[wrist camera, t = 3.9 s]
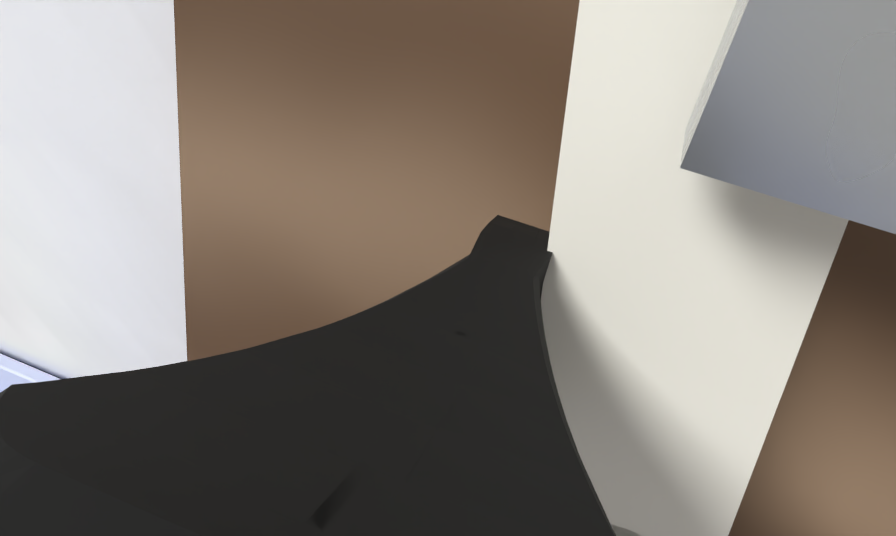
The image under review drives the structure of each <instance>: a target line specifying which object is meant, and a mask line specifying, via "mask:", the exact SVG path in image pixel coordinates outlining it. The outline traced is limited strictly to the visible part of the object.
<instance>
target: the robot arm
mask: <svg viewBox="0 0 896 536" xmlns="http://www.w3.org/2000/svg"><path fill="white" fill-rule="evenodd" d="M549 233H550V232H549V231H546V230H543V229H540V228H537V227H534V226H531V225H528V224H525V223H521V222H518V221H515V220H512V219H509V218H506V217H503V216H500V215H497V216H496V217H495V218H494V219H493V220H491V221H490V222H489V223H488V224H487V225H486V226H485V228H484V229H483V230H482V231H481V233H480V235H479V237H478V239H477V241H476V243H475V245H474V247H473V249H472V251H471V253H470V254H469V255H468V256H466V257H464V258H463V259H461V260H459V261H458V262H456V263H454V264H453V265H451V266H450V267H448V268H446V269H445V270H443V271H441V272H440V273H438V274H436V275H434V276H433V277H431V278H429V279H427V280H425V281H424V282H422V283H420V284H418V285H416V286H414V287H412V288H410V289H408V290H406V291H404V292H402V293H400V294H398V295H396V296H394V297H392V298H390V299H388V300H386V301H384V302H382V303H380V304H378V305H375V306H373V307H371V308H369V309H366V310H364V311H362V312H359V313H357V314H355V315H352V316H349V317H347V318H344V319H342V320H339V321H336V322H334V323H331V324H328V325H325V326H322V327H319V328H316V329H313V330H309V331H306V332H303V333H299V334H296V335H292V336H289V337H285V338H282V339H278V340H275V341H271V342H268V343H265V344H261V345H258V346H254V347H251V348H246V349H242V350H238V351H234V352H229V353H225V354H220V355H215V356H211V357H206V358H202V359H196V360H191V361H186V362H180V363H175V364H169V365H164V366H159V367H152V368H146V369H140V370H133V371H126V372H118V373H110V374H102V375H93V376H85V377H77V378H69V379H59V378H57V377H54V376H52V375H50V374H47V373H45V372H43V371H40V370H38V369H36V368H33V367H31V366H29V365H26V364H24V363H22V362H19V361H17V360H15V359H12V358H10V357H7V356H5V355H3V354H0V536H616V534H615V532H614V530H613V528H612V526H611V524H610V522H609V520H608V518H607V515H606V513H605V511H604V509H603V506H602V504H601V502H600V500H599V498H598V495H597V493H596V491H595V489H594V487H593V484H592V482H591V480H590V478H589V476H588V473H587V471H586V469H585V467H584V464H583V462H582V460H581V458H580V455H579V453H578V450H577V447H576V444H575V442H574V439H573V436H572V433H571V431H570V428H569V425H568V422H567V420H566V416H565V413H564V410H563V407H562V404H561V400H560V397H559V394H558V390H557V387H556V383H555V379H554V375H553V371H552V367H551V363H550V358H549V353H548V348H547V343H546V338H545V332H544V325H543V318H542V308H541V295H542V287H543V281H544V278H545V275H546V272H547V269H548V266H549V262H550V259H551V256H552V253H553V252H550V251H547V249H548V241H549Z"/></svg>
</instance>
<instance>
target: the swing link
mask: <svg viewBox="0 0 896 536" xmlns="http://www.w3.org/2000/svg"><path fill="white" fill-rule="evenodd" d="M736 2H737V0H580V1H579V9H578V17H577V25H576V32H575V40H574V48H573V56H572V63H571V71H570V79H569V86H568V94H567V102H566V110H565V117H564V125H563V133H562V141H561V148H560V156H559V164H558V171H557V179H556V187H555V195H554V202H553V210H552V218H551V225H550V233H549V241H548V249H547V251H550V252H553V253H552V256H551V259H550V262H549V266H548V269H547V272H546V275H545V278H544V281H543V287H542V295H541V308H542V318H543V325H544V332H545V338H546V343H547V348H548V353H549V358H550V363H551V367H552V371H553V375H554V379H555V383H556V387H557V390H558V394H559V397H560V400H561V404H562V407H563V410H564V413H565V416H566V420H567V422H568V425H569V428H570V431H571V433H572V436H573V439H574V442H575V444H576V447H577V450H578V453H579V455H580V458H581V460H582V462H583V464H584V467H585V469H586V471H587V473H588V476H589V478H590V480H591V482H592V484H593V487H594V489H595V491H596V493H597V495H598V498H599V500H600V502H601V504H602V506H603V509H604V511H605V513H606V515H607V518H608V520H609V522H610V524H611V526H612V528H613V530H614V532H615V534H616V536H728V535H729V532H730V530H731V527H732V524H733V522H734V519H735V516H736V514H737V511H738V509H739V506H740V503H741V501H742V498H743V496H744V493H745V490H746V488H747V485H748V482H749V480H750V477H751V475H752V472H753V469H754V467H755V464H756V461H757V459H758V456H759V454H760V451H761V448H762V446H763V443H764V441H765V438H766V435H767V433H768V430H769V427H770V425H771V422H772V420H773V417H774V414H775V412H776V409H777V407H778V404H779V401H780V399H781V396H782V393H783V391H784V388H785V386H786V383H787V380H788V378H789V375H790V373H791V370H792V367H793V365H794V362H795V359H796V357H797V354H798V352H799V349H800V346H801V344H802V341H803V338H804V336H805V333H806V331H807V328H808V325H809V323H810V320H811V318H812V315H813V312H814V310H815V307H816V304H817V302H818V299H819V297H820V294H821V291H822V289H823V286H824V284H825V281H826V278H827V276H828V273H829V270H830V268H831V265H832V263H833V260H834V257H835V255H836V252H837V250H838V247H839V244H840V242H841V239H842V236H843V234H844V231H845V229H846V226H847V223H848V221H849V220H848V219H844V218H841V217H838V216H835V215H831V214H828V213H825V212H821V211H818V210H815V209H812V208H808V207H805V206H802V205H799V204H795V203H792V202H789V201H786V200H782V199H779V198H776V197H773V196H769V195H766V194H763V193H760V192H756V191H753V190H750V189H747V188H743V187H740V186H737V185H733V184H730V183H727V182H724V181H720V180H717V179H714V178H711V177H707V176H704V175H701V174H698V173H694V172H691V171H688V170H685V169H681V168H680V164H681V157H682V150H683V144H684V137H685V130H686V126H687V124H688V121H689V119H690V116H691V114H692V111H693V109H694V106H695V104H696V101H697V99H698V96H699V94H700V91H701V89H702V86H703V84H704V81H705V79H706V76H707V74H708V71H709V69H710V66H711V64H712V61H713V59H714V57H715V54H716V52H717V49H718V47H719V44H720V42H721V39H722V37H723V34H724V32H725V29H726V27H727V24H728V22H729V19H730V17H731V14H732V12H733V9H734V7H735V4H736Z"/></svg>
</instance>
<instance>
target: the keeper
mask: <svg viewBox="0 0 896 536" xmlns="http://www.w3.org/2000/svg"><path fill="white" fill-rule="evenodd" d="M680 168H681V169H685V170H688V171H691V172H694V173H698V174H701V175H704V176H707V177H711V178H714V179H717V180H720V181H724V182H727V183H730V184H733V185H737V186H740V187H743V188H747V189H750V190H753V191H756V192H760V193H763V194H766V195H769V196H773V197H776V198H779V199H782V200H786V201H789V202H792V203H795V204H799V205H802V206H805V207H808V208H812V209H815V210H818V211H821V212H825V213H828V214H831V215H835V216H838V217H841V218H844V219H848V220H851V221H854V222H857V223H861V224H864V225H867V226H870V227H874V228H877V229H880V230H883V231H887V232H890V233H893V234H896V0H737V2H736V4H735V7H734V9H733V12H732V14H731V17H730V19H729V22H728V24H727V27H726V29H725V32H724V34H723V37H722V39H721V42H720V44H719V47H718V49H717V52H716V54H715V57H714V59H713V61H712V64H711V66H710V69H709V71H708V74H707V76H706V79H705V81H704V84H703V86H702V89H701V91H700V94H699V96H698V99H697V101H696V104H695V106H694V109H693V111H692V114H691V116H690V119H689V121H688V124H687V126H686V130H685V137H684V144H683V150H682V157H681V164H680Z"/></svg>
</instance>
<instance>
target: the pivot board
mask: <svg viewBox="0 0 896 536" xmlns="http://www.w3.org/2000/svg"><path fill="white" fill-rule="evenodd" d="M579 1H580V0H174V18H175V45H176V71H177V98H178V124H179V151H180V177H181V204H182V230H183V257H184V283H185V310H186V336H187V361H191V360H196V359H202V358H206V357H211V356H215V355H220V354H225V353H229V352H234V351H238V350H242V349H246V348H251V347H254V346H258V345H261V344H265V343H268V342H271V341H275V340H278V339H282V338H285V337H289V336H292V335H296V334H299V333H303V332H306V331H309V330H313V329H316V328H319V327H322V326H325V325H328V324H331V323H334V322H336V321H339V320H342V319H344V318H347V317H349V316H352V315H355V314H357V313H359V312H362V311H364V310H366V309H369V308H371V307H373V306H375V305H378V304H380V303H382V302H384V301H386V300H388V299H390V298H392V297H394V296H396V295H398V294H400V293H402V292H404V291H406V290H408V289H410V288H412V287H414V286H416V285H418V284H420V283H422V282H424V281H425V280H427V279H429V278H431V277H433V276H434V275H436V274H438V273H440V272H441V271H443V270H445V269H446V268H448V267H450V266H451V265H453V264H454V263H456V262H458V261H459V260H461V259H463V258H464V257H466V256H468V255H469V254H470V253H471V251H472V249H473V247H474V245H475V243H476V241H477V239H478V237H479V235H480V233H481V231H482V230H483V229H484V228H485V226H486V225H487V224H488V223H489V222H490V221H491V220H493V219H494V218H495V217H496V216H497V215H500V216H503V217H506V218H509V219H512V220H515V221H518V222H521V223H525V224H528V225H531V226H534V227H537V228H540V229H543V230H546V231H549V232H550V225H551V218H552V210H553V202H554V195H555V187H556V179H557V171H558V164H559V156H560V148H561V141H562V133H563V125H564V117H565V110H566V102H567V94H568V86H569V79H570V71H571V63H572V56H573V48H574V40H575V32H576V25H577V17H578V9H579ZM728 536H896V234H893V233H890V232H887V231H883V230H880V229H877V228H874V227H870V226H867V225H864V224H861V223H857V222H854V221H851V220H849V221H848V223H847V226H846V229H845V231H844V234H843V236H842V239H841V242H840V244H839V247H838V250H837V252H836V255H835V257H834V260H833V263H832V265H831V268H830V270H829V273H828V276H827V278H826V281H825V284H824V286H823V289H822V291H821V294H820V297H819V299H818V302H817V304H816V307H815V310H814V312H813V315H812V318H811V320H810V323H809V325H808V328H807V331H806V333H805V336H804V338H803V341H802V344H801V346H800V349H799V352H798V354H797V357H796V359H795V362H794V365H793V367H792V370H791V373H790V375H789V378H788V380H787V383H786V386H785V388H784V391H783V393H782V396H781V399H780V401H779V404H778V407H777V409H776V412H775V414H774V417H773V420H772V422H771V425H770V427H769V430H768V433H767V435H766V438H765V441H764V443H763V446H762V448H761V451H760V454H759V456H758V459H757V461H756V464H755V467H754V469H753V472H752V475H751V477H750V480H749V482H748V485H747V488H746V490H745V493H744V496H743V498H742V501H741V503H740V506H739V509H738V511H737V514H736V516H735V519H734V522H733V524H732V527H731V530H730V532H729V535H728Z"/></svg>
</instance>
